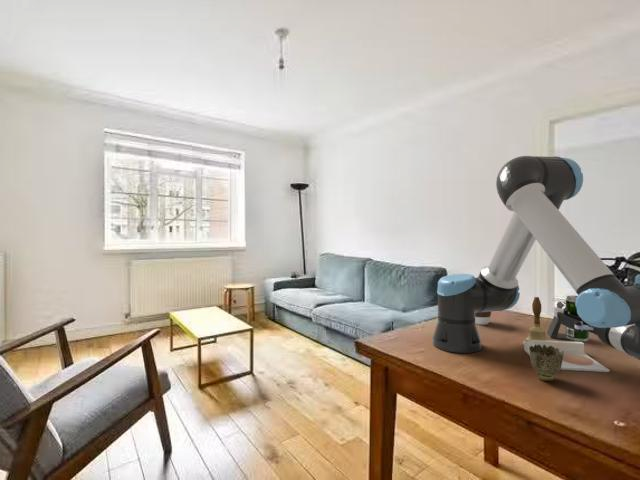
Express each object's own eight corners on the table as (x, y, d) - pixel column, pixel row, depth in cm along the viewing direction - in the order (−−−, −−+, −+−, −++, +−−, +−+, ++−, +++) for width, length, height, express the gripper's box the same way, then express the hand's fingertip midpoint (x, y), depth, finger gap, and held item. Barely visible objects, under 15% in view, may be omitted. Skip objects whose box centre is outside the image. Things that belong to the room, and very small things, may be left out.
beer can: (581, 342, 96) (581, 299, 95) (561, 337, 101) (561, 296, 100) (593, 339, 98) (593, 297, 98) (573, 334, 103) (572, 294, 103)
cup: (523, 372, 93) (523, 343, 93) (551, 373, 93) (552, 343, 92) (538, 385, 86) (539, 354, 86) (569, 386, 85) (570, 354, 85)
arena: (543, 368, 96) (543, 356, 96) (524, 350, 110) (524, 339, 109) (609, 372, 93) (609, 359, 92) (581, 353, 106) (581, 341, 106)
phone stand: (576, 335, 122) (577, 302, 122) (581, 341, 117) (581, 306, 116) (546, 333, 126) (546, 300, 126) (550, 338, 121) (550, 304, 120)
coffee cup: (480, 328, 134) (480, 297, 134) (459, 321, 144) (459, 292, 144) (501, 324, 138) (501, 294, 138) (479, 317, 148) (479, 290, 148)
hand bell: (521, 346, 113) (521, 298, 113) (524, 339, 120) (524, 293, 119) (551, 351, 108) (551, 301, 108) (553, 343, 115) (553, 296, 114)
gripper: (582, 350, 83) (534, 323, 106) (667, 351, 80) (599, 324, 103) (581, 319, 82) (533, 299, 105) (667, 319, 80) (599, 299, 103)
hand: (566, 311), depth 104 cm, fingers closed on beer can, 5 cm apart
